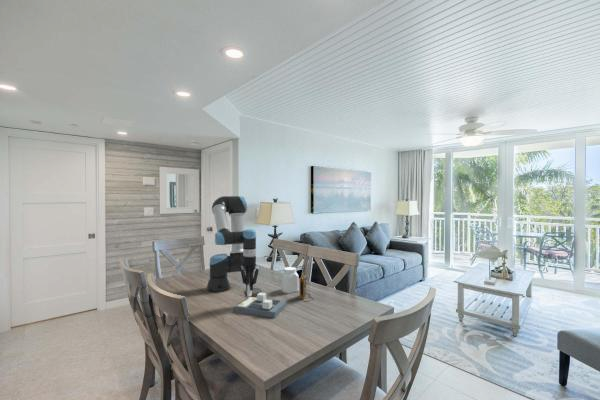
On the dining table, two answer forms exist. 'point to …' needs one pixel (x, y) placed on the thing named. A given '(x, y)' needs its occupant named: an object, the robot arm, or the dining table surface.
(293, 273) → the jar
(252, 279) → the robot arm
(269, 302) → the near slider
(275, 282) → the dining table surface
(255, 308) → the switch panel
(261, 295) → the far slider
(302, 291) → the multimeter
